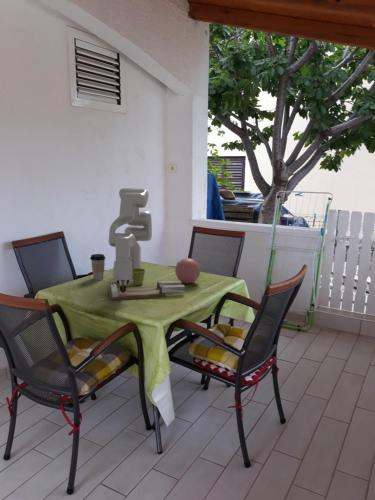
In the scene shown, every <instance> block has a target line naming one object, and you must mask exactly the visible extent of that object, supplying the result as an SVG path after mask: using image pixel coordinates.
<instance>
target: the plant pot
mask: <svg viewBox="0 0 375 500" xmlns="http://www.w3.org/2000/svg"><path fill="white" fill-rule="evenodd" d="M145 272H146V269H145V268H143V267H141V268H134V269H132V273H133V276H132V278H133V281H132V282H131V283H132V285H133V286H142V285H143V283H144V278H145V277H144V276H145Z"/></svg>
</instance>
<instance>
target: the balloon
mask: <svg viewBox="0 0 375 500" xmlns="http://www.w3.org/2000/svg"><path fill="white" fill-rule="evenodd" d="M174 269H175V270H174V273H175V276H176V279H177V280H178V281H181V282H182V284H192V283H194V282H196V281H197V280H198V278H199V277H200V274H201V267H200V265H199V263H198V262H197V260H196V259H193V258H189V257H188V258H186V257H185V258H183V259H181V260H179V261H177V263H176V265H175V268H174Z"/></svg>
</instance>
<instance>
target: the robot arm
mask: <svg viewBox="0 0 375 500" xmlns="http://www.w3.org/2000/svg"><path fill="white" fill-rule="evenodd" d="M118 192H119V193H118V194H119V195H118V196H119V198H120V204H119V213H118V214H119V215H118V217H116V219H115V220H114V221H113V222H112V223H111V225H110V227H109V233H108V244H109V246H110V247H113V248H115V260H114V262H113V271H112V273H113V274H112V276H113V277H112V278H113V280H112V282H113V283H117V285H119V286H120V287H119V288H120V291H122V293H125V291H126V288H127V285H128V284H129V283H132V281H133V278H132V276H133V273H132V269H134V268H142V267H141V266H142V265H141V264H142V262H141V261H142V259H141V258H142V249H141V247H142V246H140V244H139V242H149V241H151V240H152V236H153V228H152V224H153V223H152V214H151V212H150V211H148V210H140V209H143V208H146V206H147V203H148V202H149V192H148V190H147V189H146V188H132V187H131V188H130V187H129V188H126V187H124V188H121V189H119V191H118ZM124 225H128V226H126V227H125V229H124V233H123V232H116V231H117V229H118V228H120V227H122V226H124ZM122 281H123V282H122Z"/></svg>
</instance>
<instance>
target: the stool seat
mask: <svg viewBox="0 0 375 500" xmlns="http://www.w3.org/2000/svg"><path fill="white" fill-rule="evenodd" d="M117 290H118V297H112V293H111V287H109V288H108V295H109V300H110V301H119V300H120V301H121V300H130V299H131V300H134V299H136V300H137V299H150V298H151V299H152V298H153V299H155V298H165V297H166V293H185V292H186V286H185V285H184V284H183V282H181V281H180V280H170V281H169V280H168V281H167V280H166V281H158V282H156V285H152V286H149V285H148V286H132V287H131V286H129V287H127V286H126V291H125V293H122V291H120V287H117Z"/></svg>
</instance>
